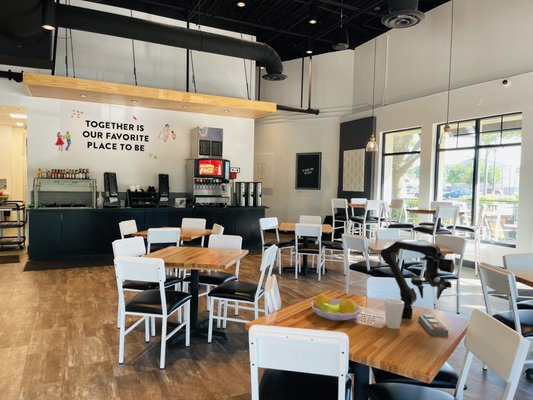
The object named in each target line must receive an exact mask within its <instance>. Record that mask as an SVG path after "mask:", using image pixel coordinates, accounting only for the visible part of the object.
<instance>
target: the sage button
mask: <svg viewBox="0 0 533 400" xmlns="http://www.w3.org/2000/svg"><path fill="white" fill-rule="evenodd" d="M428 322H429V324H438V321H437V320H436V319H428Z"/></svg>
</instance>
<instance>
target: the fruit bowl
mask: <svg viewBox="0 0 533 400" xmlns="http://www.w3.org/2000/svg"><path fill="white" fill-rule="evenodd" d="M311 307H312V311H313V312H314V313H316V314H317V315H318V316H319V317H322V318H324V319H328V320H329V321H333V322H335V321H336V322H337V321H347V320H351V319H355V318H357V317H358V316H359V314H361V311H362V308H361V307H360V305H359V304H358V303H356V302H355V300H353V299H351V298H350V299H349V298H344V299H341V298H331V297H330V298H329V297H328V296H327V295H326V294H318V295H317V296H315V298H314V300H312V301H311ZM340 313H341V314H340Z"/></svg>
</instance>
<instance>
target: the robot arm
mask: <svg viewBox="0 0 533 400" xmlns="http://www.w3.org/2000/svg"><path fill="white" fill-rule="evenodd" d="M399 250H405V251H411V252H415V253H420V254H423V255H424V257H422V258H421V259H422V261H424V260H425V270H424V272H425V276H424V280H423V279H421V278H419V277H412V278H411V279H410V283H411V284H412V285H413V286H416V287H417V289H418V292H419V294H420V295H419V296H420V298H421V299H424V285H429V286H430V287H433V288H436V300H439V299H440V297H441V295H442V293H443V292H444V290H448V289H450V288H452V282H451V281H449V280H447V279H446V278H445V277H444V276H443V277H442V276H440V275H439V271H440V272H444V273H451V274H453V273H454V272H455V268H456V266H455V262H454V259H451V258H445V256H444V255H443V253H442V252H441V248H440V247H439V246H438V245H437V244H425V245H424V244H423V245H422V244H419V243H412V242H406V241H402V240H398V241H395V242H393V243H392V244H391V245H389V246H387V247H386V248H382V249H381V251H380V257H381V258H382V260H383V261H384V262H385V263H386V264H387V265H388V267H389V269H390V270H391V274H392V275H393V278H394V280H395V281H396V284H397V286H398V289H399V296H400V299H399V300H401V301H403V302H404V308H403V313H402V318H401V319H411V320H413V308H412V305H413V304H414V303H416V301H417V298H418V297H417V295H418V294H417V292H416V291H415V288H413V287H412V288H411V287H410V286H409V285H408V283H407V281H406V279H405V277H404V274H403V273H402V270H401V269H400V266H399V264H398V261H397V254H396V253H398V252H399Z"/></svg>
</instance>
